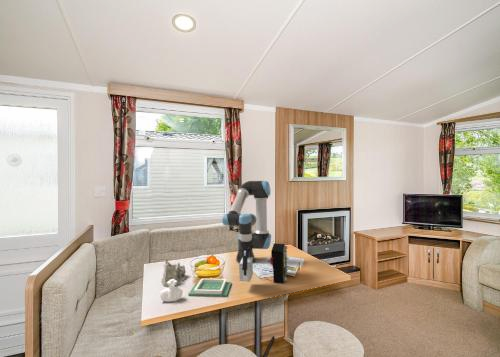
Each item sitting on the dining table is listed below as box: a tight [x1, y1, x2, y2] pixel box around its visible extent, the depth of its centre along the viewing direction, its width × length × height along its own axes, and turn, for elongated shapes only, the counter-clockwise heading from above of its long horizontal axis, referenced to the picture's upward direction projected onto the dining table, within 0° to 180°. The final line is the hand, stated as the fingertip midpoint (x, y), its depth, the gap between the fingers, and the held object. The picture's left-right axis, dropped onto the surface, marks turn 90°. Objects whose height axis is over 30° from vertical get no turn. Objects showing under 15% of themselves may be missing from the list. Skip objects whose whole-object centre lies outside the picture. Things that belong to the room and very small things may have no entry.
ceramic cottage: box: [161, 257, 187, 288], centre depth 147 cm, size 16×16×15 cm
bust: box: [159, 279, 184, 303], centre depth 124 cm, size 12×8×11 cm
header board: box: [188, 277, 232, 298], centre depth 134 cm, size 16×22×3 cm
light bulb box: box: [238, 257, 254, 283], centre depth 136 cm, size 11×7×11 cm, turn 170°
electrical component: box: [269, 243, 288, 284], centre depth 150 cm, size 18×10×20 cm, turn 168°
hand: (246, 275), depth 136 cm, fingers closed on light bulb box, 11 cm apart
